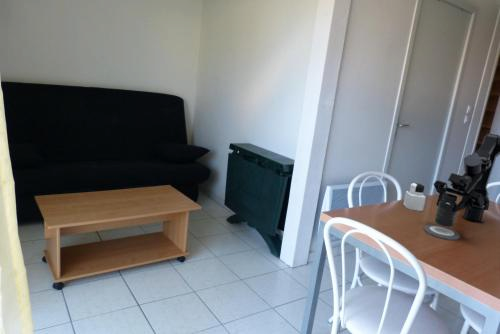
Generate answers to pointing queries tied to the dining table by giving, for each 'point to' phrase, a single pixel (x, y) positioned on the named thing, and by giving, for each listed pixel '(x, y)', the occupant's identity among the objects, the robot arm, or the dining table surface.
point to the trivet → (441, 232)
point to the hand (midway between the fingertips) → (445, 208)
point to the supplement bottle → (446, 210)
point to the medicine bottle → (415, 197)
